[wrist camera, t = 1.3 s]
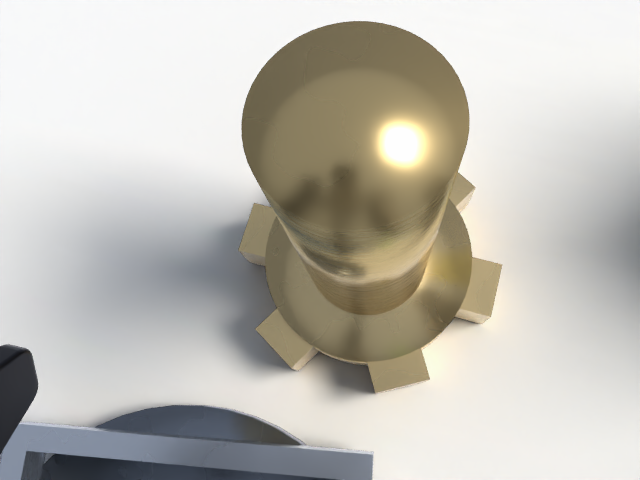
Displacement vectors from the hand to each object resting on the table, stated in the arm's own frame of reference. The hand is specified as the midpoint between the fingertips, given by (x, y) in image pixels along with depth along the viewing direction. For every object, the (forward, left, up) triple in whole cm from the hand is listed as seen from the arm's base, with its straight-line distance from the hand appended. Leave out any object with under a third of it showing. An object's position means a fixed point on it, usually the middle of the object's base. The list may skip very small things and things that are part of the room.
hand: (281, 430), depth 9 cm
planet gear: (+5, -2, -12) cm, 13 cm away
